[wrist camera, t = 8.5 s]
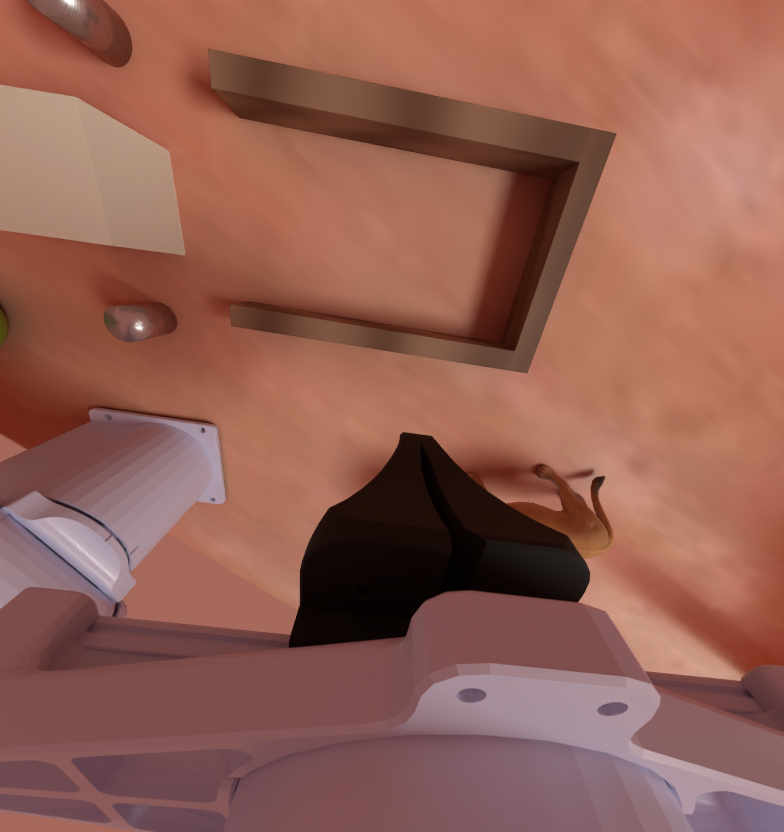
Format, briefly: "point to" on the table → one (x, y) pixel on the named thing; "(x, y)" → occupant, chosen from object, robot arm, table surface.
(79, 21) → the posts
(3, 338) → the snail figurine
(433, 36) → the table surface
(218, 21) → the table surface
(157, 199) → the cube
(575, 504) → the lion figurine
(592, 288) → the table surface
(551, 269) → the stall
